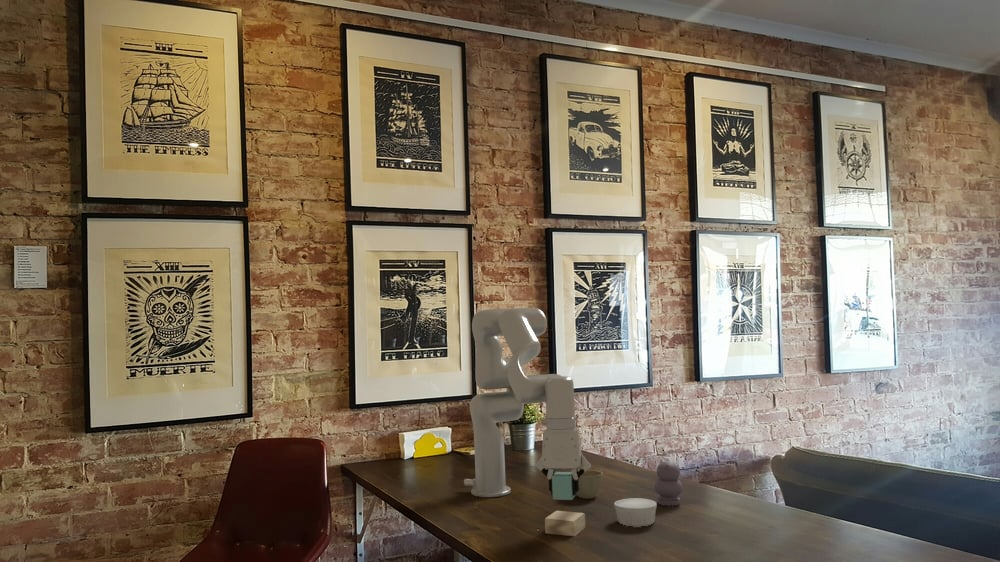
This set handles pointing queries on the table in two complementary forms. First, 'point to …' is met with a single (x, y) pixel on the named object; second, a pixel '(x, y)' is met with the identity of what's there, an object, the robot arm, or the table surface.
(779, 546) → the table surface
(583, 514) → the base
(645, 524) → the ramekin
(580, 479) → the flower pot
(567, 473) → the block
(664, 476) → the cat figurine
